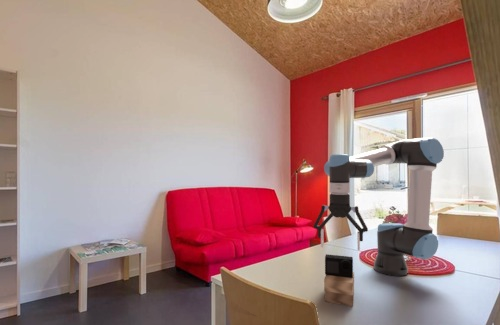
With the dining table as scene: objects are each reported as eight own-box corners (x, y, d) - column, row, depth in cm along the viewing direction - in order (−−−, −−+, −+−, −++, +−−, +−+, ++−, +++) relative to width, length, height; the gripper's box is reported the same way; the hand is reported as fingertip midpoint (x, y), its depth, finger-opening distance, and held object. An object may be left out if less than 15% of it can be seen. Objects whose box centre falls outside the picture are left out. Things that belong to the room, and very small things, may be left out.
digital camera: (324, 275, 111) (324, 257, 112) (325, 271, 117) (325, 253, 117) (352, 279, 108) (352, 260, 108) (352, 274, 113) (352, 256, 113)
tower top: (354, 283, 115) (354, 272, 116) (352, 295, 104) (352, 283, 105) (328, 279, 119) (328, 268, 119) (324, 290, 108) (324, 278, 108)
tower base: (353, 294, 116) (353, 283, 116) (353, 307, 104) (353, 295, 105) (328, 290, 119) (328, 279, 119) (325, 303, 108) (325, 291, 108)
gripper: (306, 193, 113) (306, 247, 113) (374, 195, 105) (375, 253, 104) (308, 191, 120) (309, 242, 120) (373, 193, 112) (374, 248, 111)
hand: (340, 247), depth 112 cm, fingers open, 13 cm apart
